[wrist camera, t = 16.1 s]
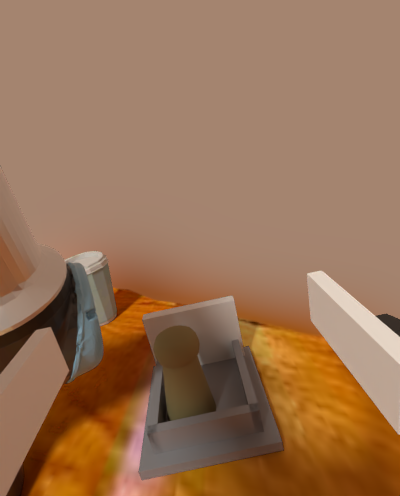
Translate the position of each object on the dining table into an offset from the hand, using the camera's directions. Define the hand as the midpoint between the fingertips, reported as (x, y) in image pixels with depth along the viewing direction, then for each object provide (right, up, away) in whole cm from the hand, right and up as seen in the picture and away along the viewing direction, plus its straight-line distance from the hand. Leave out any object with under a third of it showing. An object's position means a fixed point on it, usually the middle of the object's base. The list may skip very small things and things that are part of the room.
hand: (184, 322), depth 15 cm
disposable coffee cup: (-21, -13, +52) cm, 57 cm away
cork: (0, -16, +21) cm, 26 cm away
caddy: (+2, -16, +23) cm, 28 cm away
